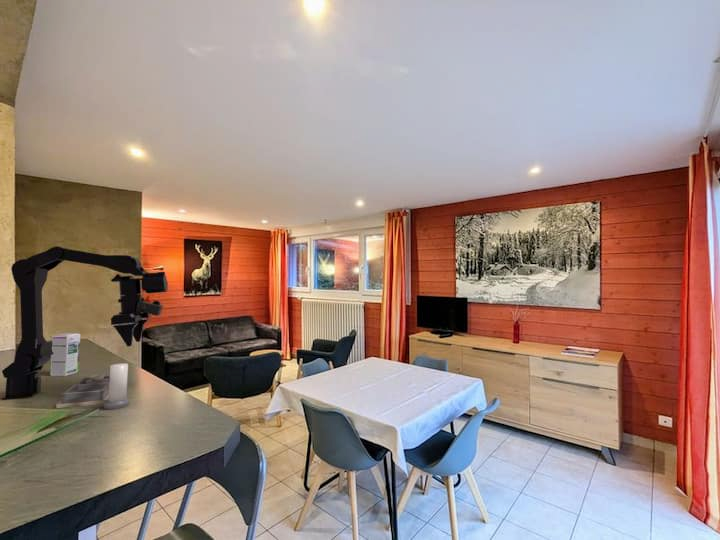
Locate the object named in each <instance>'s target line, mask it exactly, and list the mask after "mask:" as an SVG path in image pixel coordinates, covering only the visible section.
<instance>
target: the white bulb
mask: <svg viewBox="0 0 720 540" xmlns="http://www.w3.org/2000/svg"><path fill="white" fill-rule="evenodd" d="M128 374H129V364H128V363H123V362H122V363H114V364H111V365H109V376H110V380H109V396H108V400H106V401H105V402H104V404H103V405H104V406H103V409H104V410H108V411H110V410H111V411H112V410H113V411H115V410H120V408H121V409H124V408H126V406H127V407H129V406H128V405H130V400H131V399H130V398H129V397H127V393H128V392H127V391H128Z"/></svg>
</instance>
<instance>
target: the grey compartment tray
mask: <svg viewBox="0 0 720 540" xmlns="http://www.w3.org/2000/svg"><path fill="white" fill-rule="evenodd" d="M109 380H110V375H106V376H105V374H103V373H96V374H93V375H91V377H90V376H87V377H83V378H82V379H80V380H79V381H78V382H76V383H75V384H74V385H72V386H71V387H70V388H68V389H67V390H66V391H64V392H63V393H61V398H60V401H58V403H56V404H55V405H56V407H55V408H56V409H63V408H72V407H75V408H76V407H85V406H95V405H104V402H105V401H106V400H108V396H109Z"/></svg>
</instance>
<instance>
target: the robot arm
mask: <svg viewBox="0 0 720 540" xmlns="http://www.w3.org/2000/svg"><path fill="white" fill-rule="evenodd" d="M64 261H68V262H74V263H80V264H85V265H92V266H98V267H103V268H106V269H108V270H109V269H110V270H111V271H115V272H118V273H117V274H115V276H113V277H112V278H111V280H110V281H111V282H112V283H113V282H114V283H119V284H118V285H119V298H118V300H117V303H120V311H119V312H118V314H113V315H112V317H111V318H110V324H111V325H112V326H113V328H114V329H115V330H116V331H117V333H118V335H119V336H120V337H121V339H122V340H123V342H124V343H125V345H126V347H132V345H133V339H134V340H135V342H136V343H138V342H139V343H140V342H141V340H142V339H141V338H142V336H143V331H144V326H145V324H146V323H148V321H150V318H151V317H152V316H160V315H161V313H162V310H164V308H163V307H164V306H163V305H162V303H161V301H158V300H153V302H148V301H145V298H144V297H143V296H142V291H143V292H146V294H148V295H149V294H159V293H167V292H168V290H169V284H168V283H169V282H168V279H167V275H166V272H165V271H157V272H149V273H148V271H147V270H145V268H143V267H142V262H141V260H140V259H139V258H137V257H135V256H131V255H127V254H121V255H120V254H118V255H117V254H110V255H109V254H108V255H107V254H98V253H92V252H88V251H87V252H86V251H83V250H76V249H70V248H66V247H61V246H53V247H51V248H49V249H47V250H45V251H43V252H39V253H37V254H34V255H32V256H29V257H27V258H23V259H19V260H16V261H15V262H14V263H12V265H11V274H12V278H13V282H14V283H15V284H16V286H17V288H18V289H19V299H20V301H19V302H20V332H21V338H20V339H21V340H20V342H19V344H18V345H17V348H16V349H15V354H14V359H13V362H12V363H10V364H8V365H7V366H6V367H5V368H4V369H3V370H2V371H1V372H2V376H3V377H4V379H5V378H6V383H5V395H4V396H3V397H1V400H11V399H24V398H32V397H34V396H35V395H37V394H38V393H40V392H41V388H42V387H41V386H42V377H41V376H40V371H42V370H43V367H44V366H45V365H46V364H47V363H48V362H50V361H51V355H53V354H54V353H53V352H52V345H53V343H52V340H51V341H47V340H46V338H45V337H44V323H43V321H44V320H43V319H44V318H43V317H44V316H43V315H44V314H43V294H42V293H43V288H44V286H45V284H46V281H47V280H48V275H49V271H50V272H51V270H52V271H53V269H55V268H56V267H58V265H60V264H61V263H63V262H64ZM120 273H122V274H127V275H121V274H120ZM134 276H135V277H138V278H134ZM139 277H141V278H139ZM151 315H152V316H151Z"/></svg>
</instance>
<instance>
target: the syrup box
mask: <svg viewBox="0 0 720 540" xmlns="http://www.w3.org/2000/svg"><path fill="white" fill-rule="evenodd" d="M51 341H52V343H53V345H52V352H53V353H54V354H53V355H51V358H50V377H67V376H71V375H74V374H78V373H79V371H80V356H81V355H80V351H81V333H76V332H75V333H74V332H69V333H63V334H56V335H55V334H54V335H52V338H51Z"/></svg>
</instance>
